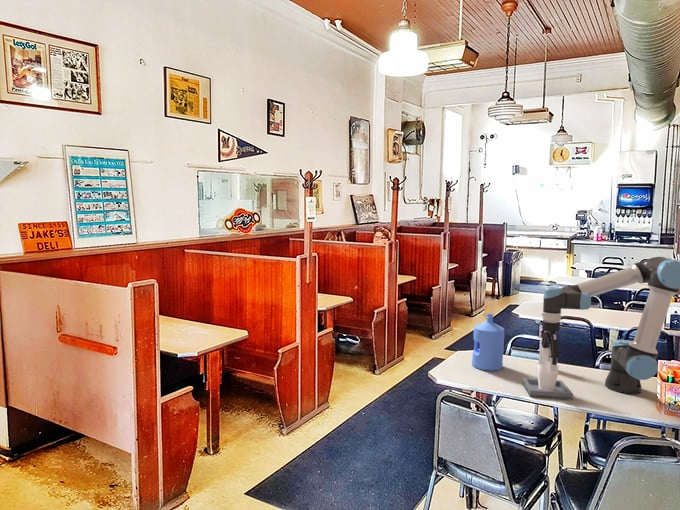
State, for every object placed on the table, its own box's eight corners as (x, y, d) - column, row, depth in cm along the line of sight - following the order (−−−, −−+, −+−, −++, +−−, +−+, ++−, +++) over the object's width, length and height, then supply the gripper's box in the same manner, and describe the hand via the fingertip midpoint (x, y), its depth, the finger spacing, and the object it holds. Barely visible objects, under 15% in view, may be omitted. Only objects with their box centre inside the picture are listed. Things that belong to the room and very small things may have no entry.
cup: (553, 386, 237) (555, 361, 235) (559, 393, 228) (561, 368, 226) (533, 385, 237) (535, 360, 236) (539, 392, 229) (541, 367, 227)
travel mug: (536, 366, 268) (538, 329, 266) (548, 366, 268) (551, 329, 266) (540, 370, 262) (543, 332, 260) (553, 370, 262) (556, 333, 260)
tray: (561, 386, 239) (561, 380, 239) (572, 399, 224) (572, 393, 223) (522, 383, 242) (522, 377, 241) (530, 396, 226) (530, 390, 226)
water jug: (505, 365, 269) (509, 313, 265) (497, 373, 255) (501, 319, 252) (476, 359, 277) (479, 309, 274) (467, 367, 264) (470, 315, 260)
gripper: (535, 314, 242) (533, 357, 244) (550, 327, 217) (547, 375, 219) (552, 315, 241) (550, 358, 243) (568, 328, 216) (565, 376, 218)
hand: (548, 366), depth 231 cm, fingers open, 13 cm apart
